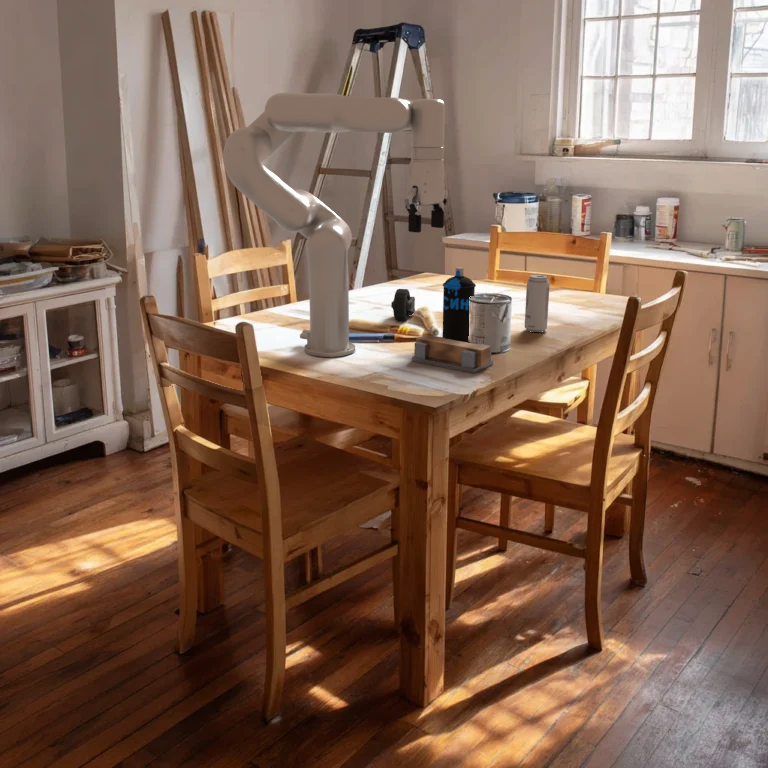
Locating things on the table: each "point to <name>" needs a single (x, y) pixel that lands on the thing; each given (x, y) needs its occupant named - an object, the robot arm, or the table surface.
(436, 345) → the rail
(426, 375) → the table surface
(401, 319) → the caster wheel
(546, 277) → the energy drink can
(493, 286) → the table surface
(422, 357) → the cradle
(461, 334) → the aerosol can
